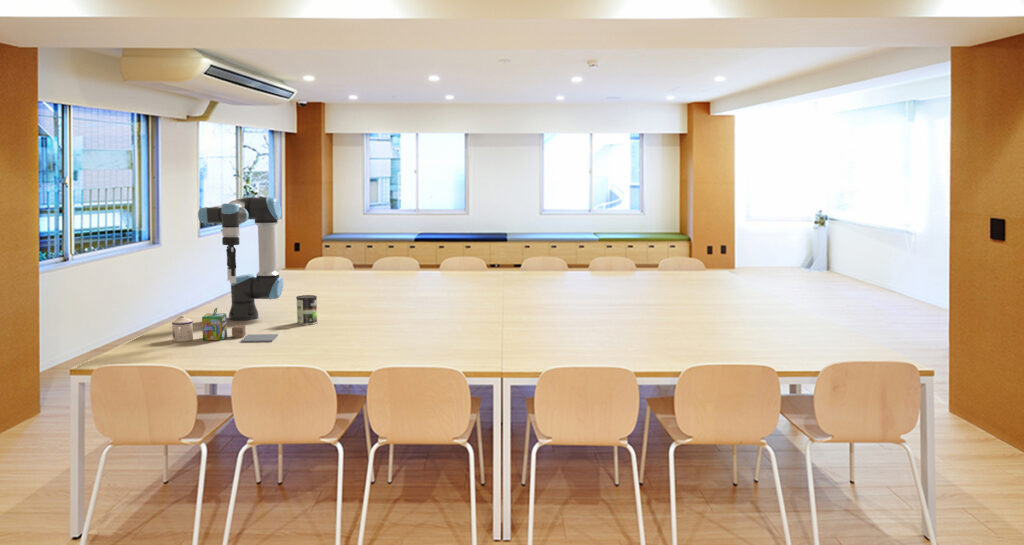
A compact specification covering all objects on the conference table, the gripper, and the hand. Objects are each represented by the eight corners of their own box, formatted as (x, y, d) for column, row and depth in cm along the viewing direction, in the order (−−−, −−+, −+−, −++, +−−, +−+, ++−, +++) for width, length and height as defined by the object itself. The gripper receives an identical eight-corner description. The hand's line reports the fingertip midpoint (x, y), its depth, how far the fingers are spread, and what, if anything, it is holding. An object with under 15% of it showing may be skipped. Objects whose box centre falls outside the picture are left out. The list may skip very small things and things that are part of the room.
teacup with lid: (175, 338, 371) (174, 313, 370) (195, 337, 373) (194, 313, 371) (168, 343, 360) (167, 318, 358) (189, 343, 361) (188, 318, 359)
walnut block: (234, 335, 378) (234, 325, 377) (245, 335, 378) (245, 325, 378) (232, 338, 373) (231, 327, 372) (243, 337, 373) (242, 327, 373)
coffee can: (320, 321, 414) (320, 295, 412) (312, 325, 404) (311, 298, 402) (302, 320, 416) (301, 294, 414) (293, 324, 406) (292, 297, 404)
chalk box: (208, 336, 375) (206, 306, 373) (227, 336, 375) (226, 306, 374) (202, 341, 366) (200, 309, 364) (222, 340, 366) (221, 309, 364)
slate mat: (248, 336, 377) (248, 334, 377) (277, 335, 378) (277, 334, 378) (240, 342, 363) (240, 340, 363) (271, 342, 364) (271, 340, 364)
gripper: (220, 235, 377) (221, 279, 378) (224, 237, 354) (225, 284, 356) (236, 235, 380) (237, 279, 382) (241, 237, 357) (242, 283, 359)
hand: (231, 281), depth 369 cm, fingers open, 13 cm apart
